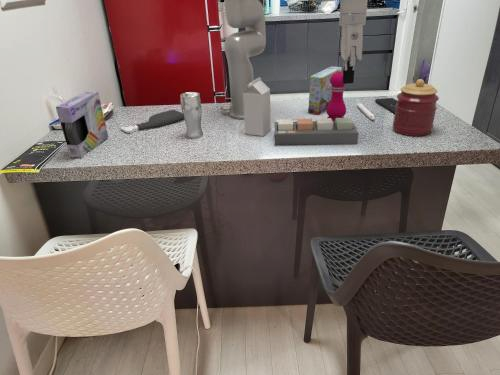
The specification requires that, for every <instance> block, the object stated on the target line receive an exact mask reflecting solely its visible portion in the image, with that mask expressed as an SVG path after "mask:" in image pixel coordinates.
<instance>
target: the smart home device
mask: <svg viewBox="0 0 500 375" xmlns="http://www.w3.org/2000/svg"><path fill="white" fill-rule="evenodd" d="M374 102H375V103H376V104H377V105H379V106H380V107H381V108H384V109H385V110H386V111H388V112H389V111H390V112H389V113H391V114H392V113H393V115H394V116H395V110H396V104H397V103H398V99H396V98H394V97H387V98H386V97H385V98H376V99H375V100H374Z"/></svg>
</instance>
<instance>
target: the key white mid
mask: <svg viewBox="0 0 500 375" xmlns="http://www.w3.org/2000/svg"><path fill="white" fill-rule="evenodd" d="M315 121H316V130H333V122H332V119H331V118H328V117H325V118H324V117H323V118H315Z"/></svg>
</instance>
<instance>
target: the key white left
mask: <svg viewBox="0 0 500 375" xmlns="http://www.w3.org/2000/svg"><path fill="white" fill-rule="evenodd" d="M277 122H278V131H293V122H294V118H284V119H283V118H280V119H279V118H277Z"/></svg>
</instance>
